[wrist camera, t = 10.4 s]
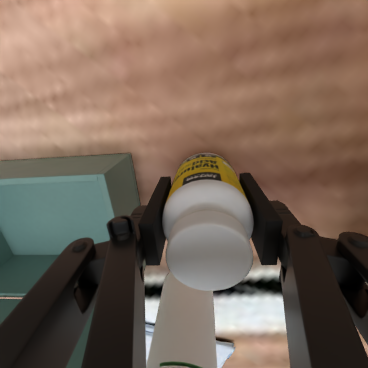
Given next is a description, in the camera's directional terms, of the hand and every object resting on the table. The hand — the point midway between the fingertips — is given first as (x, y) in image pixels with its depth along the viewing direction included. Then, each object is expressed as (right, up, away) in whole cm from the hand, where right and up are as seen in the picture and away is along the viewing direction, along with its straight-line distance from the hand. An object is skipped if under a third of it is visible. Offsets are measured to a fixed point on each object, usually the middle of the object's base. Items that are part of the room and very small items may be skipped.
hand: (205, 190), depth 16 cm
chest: (-17, -3, +9) cm, 20 cm away
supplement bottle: (0, +1, +2) cm, 2 cm away
